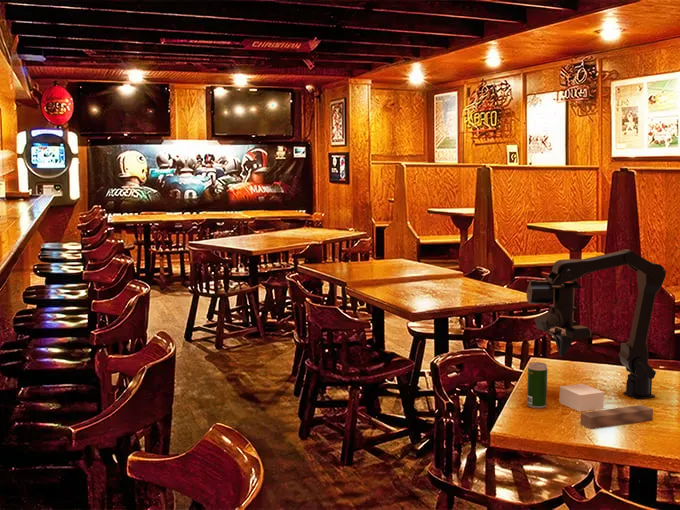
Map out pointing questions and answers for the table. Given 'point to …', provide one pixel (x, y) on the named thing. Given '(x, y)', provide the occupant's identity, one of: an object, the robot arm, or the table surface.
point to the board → (616, 416)
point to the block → (581, 397)
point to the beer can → (537, 385)
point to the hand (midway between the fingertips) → (561, 356)
